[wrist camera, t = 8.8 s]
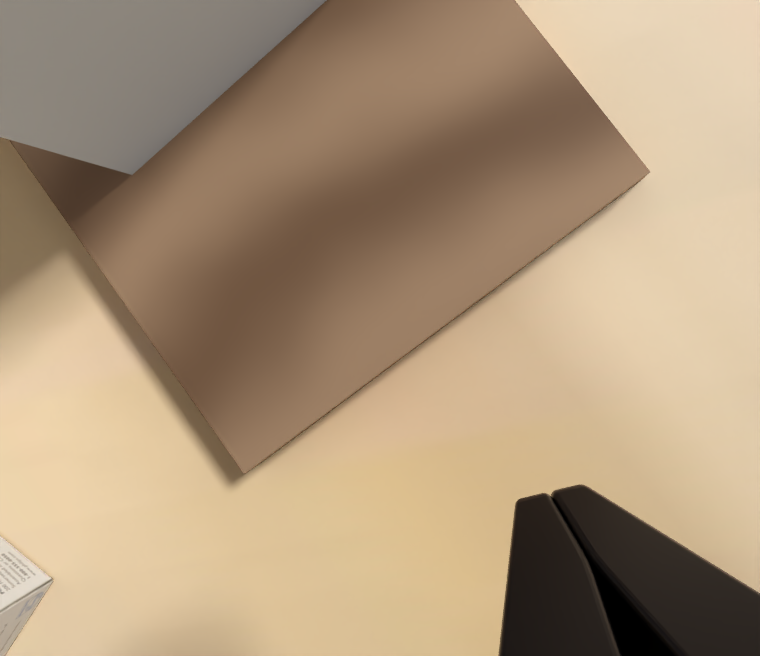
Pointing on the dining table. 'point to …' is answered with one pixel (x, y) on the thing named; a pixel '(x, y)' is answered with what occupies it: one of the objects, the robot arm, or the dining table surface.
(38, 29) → the carton
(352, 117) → the podium board
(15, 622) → the light bulb box
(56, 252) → the dining table surface
